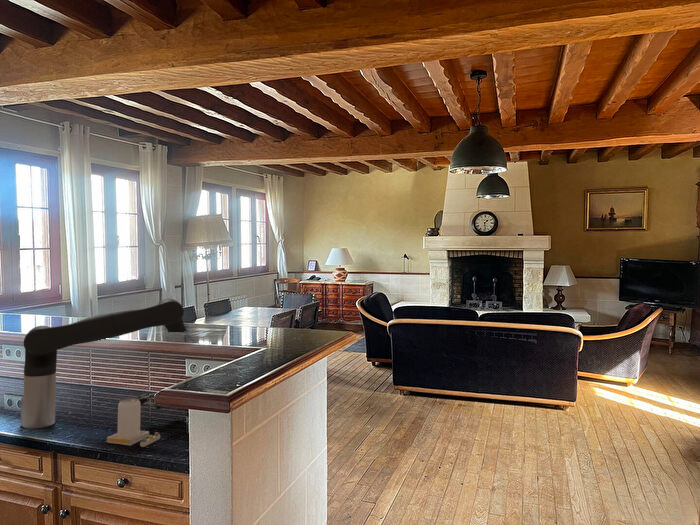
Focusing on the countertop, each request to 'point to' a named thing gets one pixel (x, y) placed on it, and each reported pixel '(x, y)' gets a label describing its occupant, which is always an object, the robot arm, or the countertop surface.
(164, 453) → the countertop surface
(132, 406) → the can
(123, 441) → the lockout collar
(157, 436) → the indicator bank
